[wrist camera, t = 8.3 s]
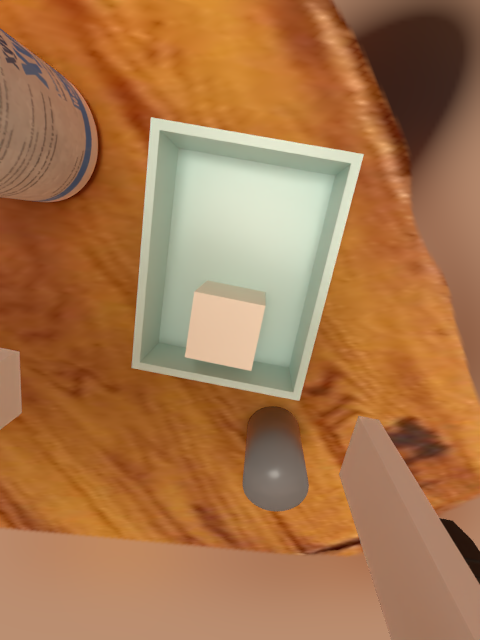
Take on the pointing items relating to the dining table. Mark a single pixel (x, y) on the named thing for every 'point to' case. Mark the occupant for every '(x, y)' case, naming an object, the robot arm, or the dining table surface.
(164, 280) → the teal tote
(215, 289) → the tan cube
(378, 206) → the dining table surface
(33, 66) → the supplement tub
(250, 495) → the charcoal cylinder
